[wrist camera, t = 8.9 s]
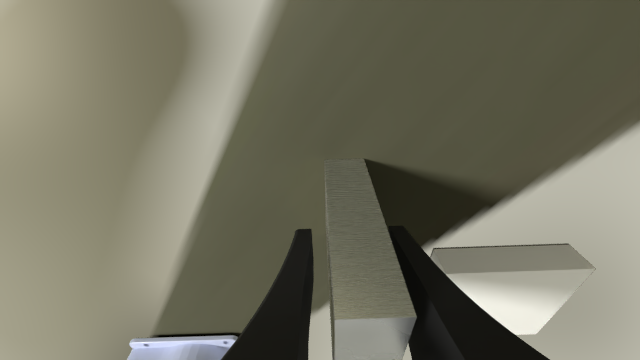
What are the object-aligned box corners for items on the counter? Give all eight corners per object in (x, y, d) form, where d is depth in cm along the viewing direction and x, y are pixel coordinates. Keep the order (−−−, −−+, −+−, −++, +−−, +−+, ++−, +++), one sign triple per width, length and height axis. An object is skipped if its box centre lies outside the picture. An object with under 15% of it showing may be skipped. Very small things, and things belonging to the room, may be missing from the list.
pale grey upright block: (326, 230, 16) (334, 393, 9) (324, 159, 13) (334, 319, 6) (358, 229, 16) (390, 391, 9) (363, 158, 13) (416, 317, 6)
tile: (420, 337, 20) (536, 333, 20) (446, 273, 15) (595, 268, 15) (411, 309, 21) (516, 305, 21) (431, 244, 17) (564, 240, 17)
